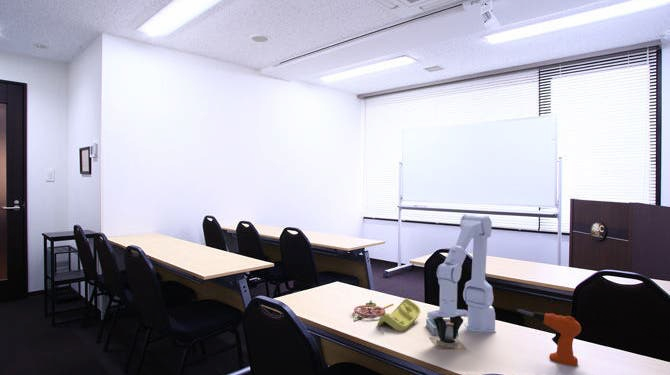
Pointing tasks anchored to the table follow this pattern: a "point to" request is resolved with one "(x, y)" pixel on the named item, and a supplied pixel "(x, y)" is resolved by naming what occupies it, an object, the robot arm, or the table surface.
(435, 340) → the socket plate
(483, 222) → the robot arm
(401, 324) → the plastic component
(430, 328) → the bin
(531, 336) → the table surface
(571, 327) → the toy drill
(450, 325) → the cylinder with rectangular bar
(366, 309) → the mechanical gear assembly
